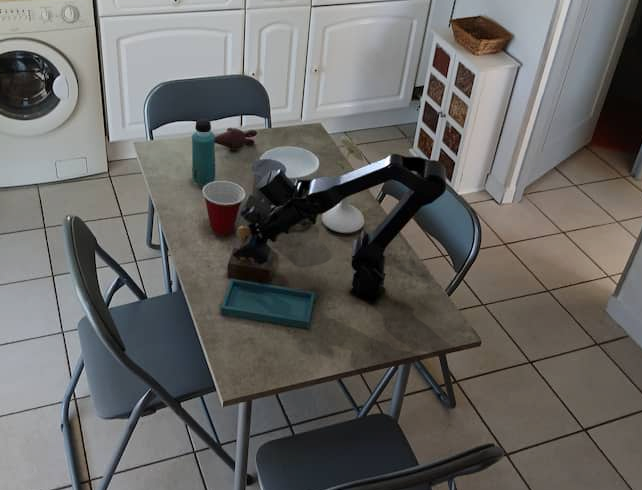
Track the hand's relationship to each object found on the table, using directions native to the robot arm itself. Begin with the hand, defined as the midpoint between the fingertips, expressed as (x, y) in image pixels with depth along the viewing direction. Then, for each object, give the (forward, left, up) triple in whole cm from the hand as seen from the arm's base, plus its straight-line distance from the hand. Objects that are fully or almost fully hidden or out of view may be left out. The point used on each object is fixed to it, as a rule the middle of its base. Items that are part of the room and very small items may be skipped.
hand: (237, 246), depth 176 cm
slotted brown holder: (-3, -1, -8) cm, 8 cm away
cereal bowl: (+12, -40, -8) cm, 43 cm away
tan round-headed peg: (-1, -1, -8) cm, 8 cm away
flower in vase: (-10, -33, -8) cm, 35 cm away
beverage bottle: (+30, -24, -8) cm, 39 cm away
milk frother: (+4, -24, -8) cm, 26 cm away
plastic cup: (+13, -11, -8) cm, 19 cm away
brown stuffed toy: (+35, -44, -8) cm, 57 cm away
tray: (-13, +6, -8) cm, 16 cm away
